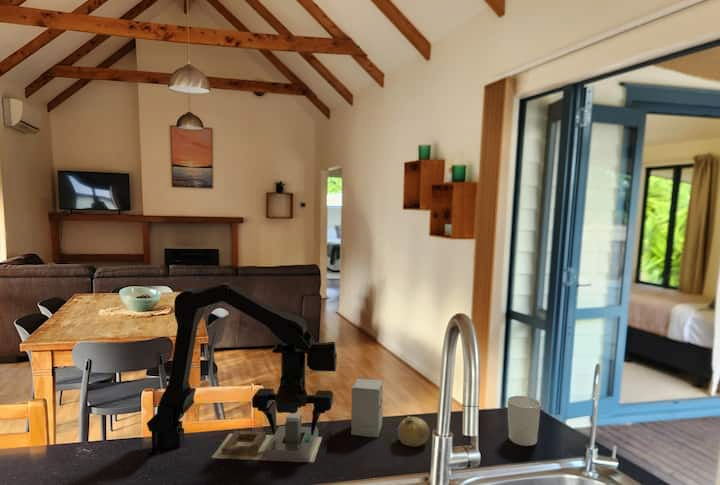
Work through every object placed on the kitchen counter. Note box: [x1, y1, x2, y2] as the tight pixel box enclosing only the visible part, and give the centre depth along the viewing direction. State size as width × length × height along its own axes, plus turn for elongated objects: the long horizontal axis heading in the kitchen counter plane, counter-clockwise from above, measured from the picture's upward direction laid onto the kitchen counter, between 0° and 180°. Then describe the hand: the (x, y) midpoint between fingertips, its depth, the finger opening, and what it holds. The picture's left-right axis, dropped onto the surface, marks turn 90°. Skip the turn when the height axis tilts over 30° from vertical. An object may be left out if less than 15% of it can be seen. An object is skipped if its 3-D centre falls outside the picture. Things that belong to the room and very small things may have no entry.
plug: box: [284, 412, 302, 444], centre depth 113 cm, size 3×4×8 cm, turn 176°
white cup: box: [507, 395, 541, 447], centre depth 119 cm, size 8×8×10 cm
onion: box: [397, 415, 430, 448], centre depth 118 cm, size 8×8×7 cm
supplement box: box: [350, 378, 383, 438], centre depth 124 cm, size 7×7×13 cm
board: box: [210, 433, 323, 463], centre depth 113 cm, size 24×12×1 cm, turn 86°
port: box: [265, 425, 319, 463], centre depth 113 cm, size 10×12×3 cm
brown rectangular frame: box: [222, 430, 267, 456], centre depth 114 cm, size 8×9×2 cm
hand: (293, 433), depth 113 cm, fingers open, 9 cm apart
